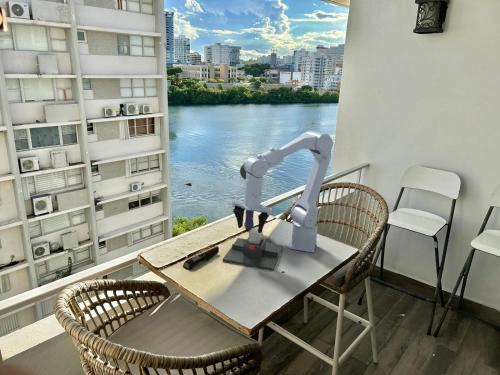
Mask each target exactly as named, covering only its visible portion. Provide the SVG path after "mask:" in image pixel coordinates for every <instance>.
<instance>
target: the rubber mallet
mask: <svg viewBox="0 0 500 375" xmlns="http://www.w3.org/2000/svg"><path fill="white" fill-rule="evenodd" d="M245 163H246V161H245V162H244V163H243V164H242V165H241V166H240V168H239V173H240V176H241V178H242V179H243V180H245V181H246V171H245V170H244V165H245ZM254 214H255V211H252V210H245V218H244V219H245V221H244V222H243V226H244V229H245V230H247V231H250V230H251V229H252V228H254V227H255V224H254Z"/></svg>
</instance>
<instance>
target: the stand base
mask: <svg viewBox="0 0 500 375" xmlns="http://www.w3.org/2000/svg"><path fill="white" fill-rule="evenodd" d="M248 240H249V236H248V237H247V239H246V238H241V237H237V239H236V240H235V242H234V243H232V244H231V247H230V248H229V250H228V251H227V252H226V254H225V255H224V256H223V258H222V262H223V263H228V264H235V265H240V266H245V267H250V268H256V269H260V270H266V271H271V272H273V271H275V269H276V266H277V264H278V262H279V259H280V257H281V254H282V252H283V250H284V245H282V244H278V243H277V244H276V243H271V242H270V243H269V242H267V239H265V238H262V244H261V246H257V245H252V244H248Z"/></svg>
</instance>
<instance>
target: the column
mask: <svg viewBox="0 0 500 375" xmlns="http://www.w3.org/2000/svg"><path fill="white" fill-rule="evenodd" d="M263 230H264V229H263ZM263 230H262V232H261V233H258V228H254V227H253V228H252V229H251V230H249V231H248V237H249V240H248V244H252V245H257V246H261V244H262V239H263Z"/></svg>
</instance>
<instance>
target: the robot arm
mask: <svg viewBox="0 0 500 375" xmlns="http://www.w3.org/2000/svg"><path fill="white" fill-rule="evenodd" d="M333 145H334V140H333V139H332V137H331V135H329V134H328V133H323V132H319V131H315V130H313V129H309V130H307V131H306V132H302V133H301V135H299V136H298V137H296V138H295V139H293V140H291V141H290V142H288V143H286V144H285V145H283V146H281V147H280V148H279V147H276V146H275V147H273V146H271V147H269V148H268V150H266V151H265V152H263V153H261V154H260V153H259V154H257V156H255V157H254V156H251V157H249V158H248V159H246V161H245V162H246V163H245V162H244V163H245V165H244V170H245V171H246V180H245V185H244V199H243V200H236V199H235V200H232V201H231V202H232V203H231V207H232V208H233V209H232V212H233V214H234V216H235V218H236V222H237V228H238V229H241V228H242V227H243V226H244V217H245V216H244V215H245V212H246V210H252V211H254V212H255V213H259V214H258V215H257V218H258V227H257V229H258V233H261V232H262V230H264V229H263V228H264V226H265V224H266V222H267V220H268V218H269V217H270V216H271V215H273V209H274V208H272V207H268V206H266V205H263V204H261V203H262V191H263V181H264V180H263V179H264V176H265V175H266V174H267V172H268V171H269V170H270V169H272V168H275V167H276V166H278V165H280V164H281V163H284V160H285V158H286V157H288V156H290V155H292V154H295V153H296V152H299V151H301V150H303V149H306V150H307V149H308V150H309V151H310V152H311V153H312V156H313V157H314V160H313V163H312V165H311V169H310V172H309V175H308V177H307V181H306V184H305V187H304V190H303V193H302V195H301V198H299V199H297V200H296V201H295V204H294V205H293V207H292V208H291V210H290V212H289V213H290V217H291V219H292V233H291V241H290V243H289V245H288V249H291V250H297V251H301V252H308V253H315V249H316V246H317V243H318V242H317V237H318V226H316V224H317V222H318V212H319V209H318V205H317V200H318V198H319V194H320V191H321V188H322V185H323V182H324V180H325V176H326V175H327V171H328V168H329V166H330V162H331V159H332V148H333ZM262 233H263V232H262Z"/></svg>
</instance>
